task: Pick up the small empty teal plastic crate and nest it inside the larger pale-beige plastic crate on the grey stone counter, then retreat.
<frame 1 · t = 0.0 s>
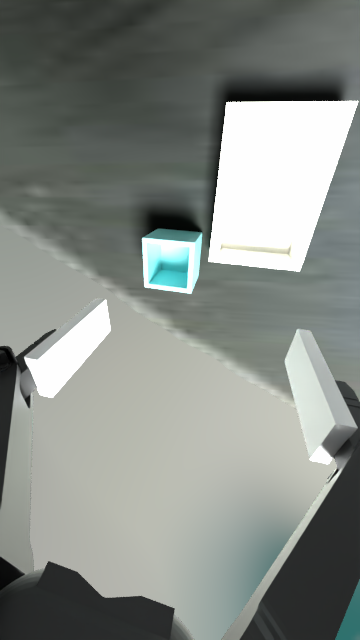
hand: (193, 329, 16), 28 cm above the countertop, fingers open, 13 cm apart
small crate: (179, 253, 41), on the countertop
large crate: (264, 196, 34), on the countertop
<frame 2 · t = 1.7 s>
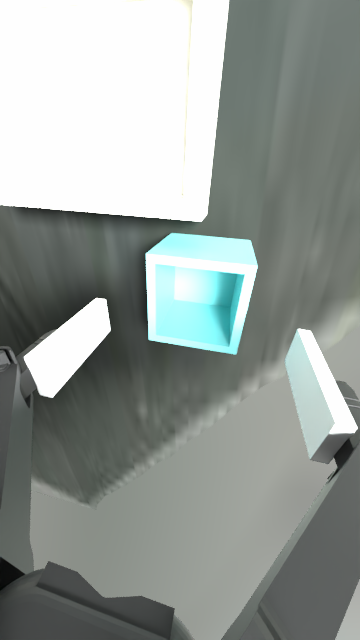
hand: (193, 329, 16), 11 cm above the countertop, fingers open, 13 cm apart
small crate: (205, 274, 25), on the countertop
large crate: (105, 115, 19), on the countertop
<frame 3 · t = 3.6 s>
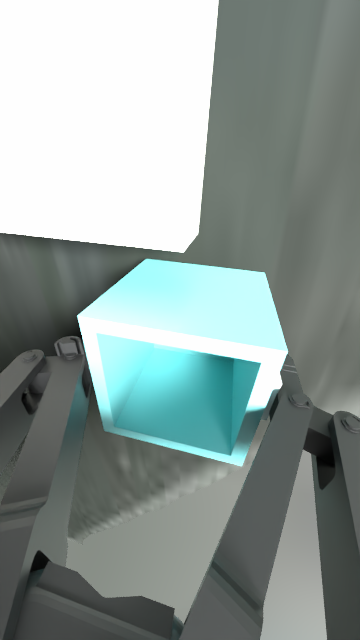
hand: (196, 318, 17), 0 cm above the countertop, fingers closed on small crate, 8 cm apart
small crate: (197, 316, 17), on the countertop, touching gripper
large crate: (31, 75, 12), on the countertop
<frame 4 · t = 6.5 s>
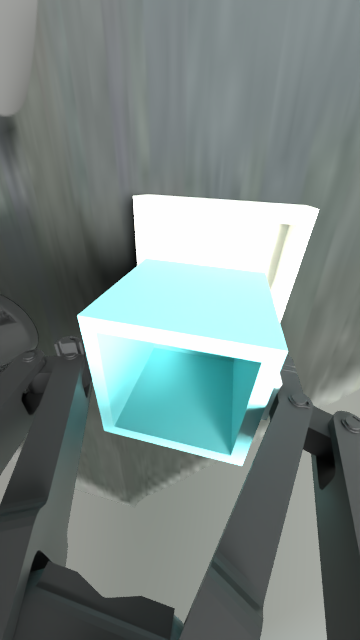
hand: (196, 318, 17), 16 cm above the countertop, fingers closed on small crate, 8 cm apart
small crate: (197, 316, 17), point 16 cm above the countertop, touching gripper
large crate: (214, 257, 30), on the countertop
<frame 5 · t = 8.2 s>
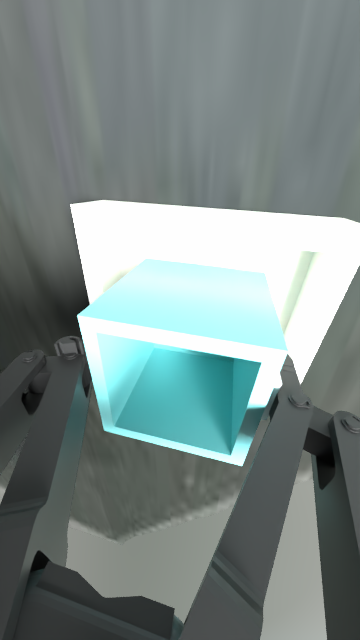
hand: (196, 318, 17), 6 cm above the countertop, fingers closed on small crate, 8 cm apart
small crate: (197, 315, 17), point 5 cm above the countertop, touching gripper
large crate: (204, 289, 21), on the countertop
when the fingers open (4 cm above the countertop, at t = 9.5 s): small crate drops 2 cm, resting on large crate.
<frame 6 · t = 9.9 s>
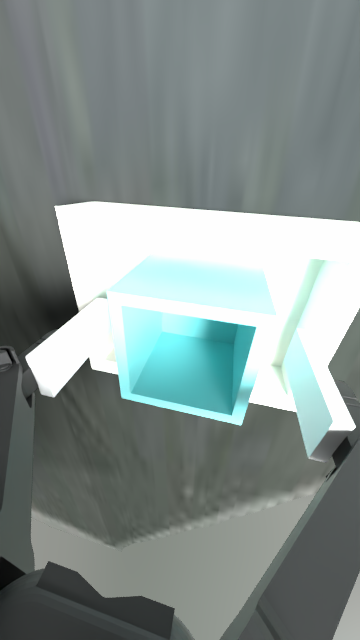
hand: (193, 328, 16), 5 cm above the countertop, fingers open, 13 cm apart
small crate: (201, 301, 19), point 1 cm above the countertop, touching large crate
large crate: (203, 297, 20), on the countertop
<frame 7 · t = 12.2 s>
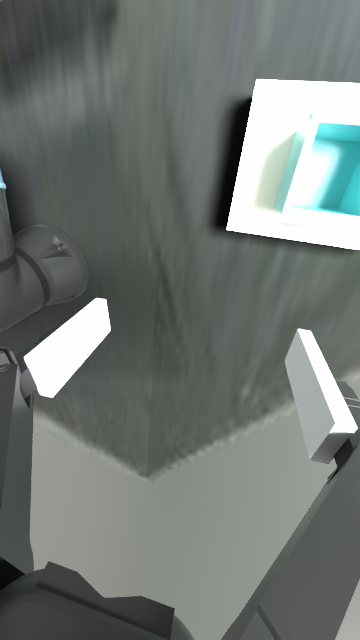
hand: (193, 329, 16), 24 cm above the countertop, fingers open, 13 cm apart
small crate: (318, 175, 27), point 1 cm above the countertop, touching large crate
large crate: (316, 176, 28), on the countertop
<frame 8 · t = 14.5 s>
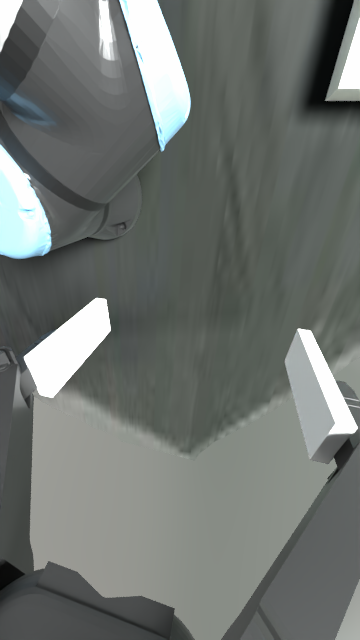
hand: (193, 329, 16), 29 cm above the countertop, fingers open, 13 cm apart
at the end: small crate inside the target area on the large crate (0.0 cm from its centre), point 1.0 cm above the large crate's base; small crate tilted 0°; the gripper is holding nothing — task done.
